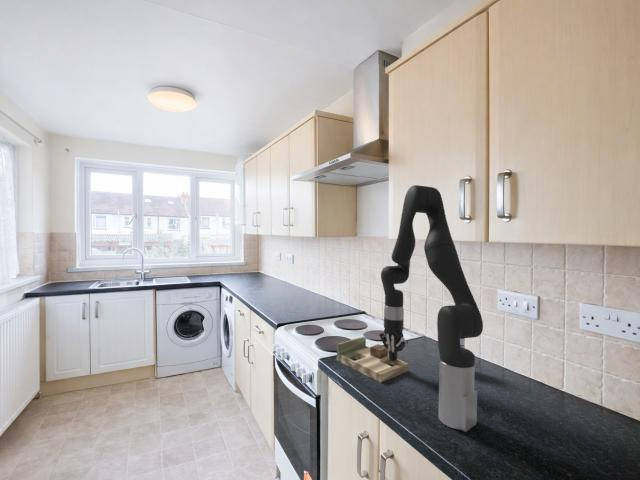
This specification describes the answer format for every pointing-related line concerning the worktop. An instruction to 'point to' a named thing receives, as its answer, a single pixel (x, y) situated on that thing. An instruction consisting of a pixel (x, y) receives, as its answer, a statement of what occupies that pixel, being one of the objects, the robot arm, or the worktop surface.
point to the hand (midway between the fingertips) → (392, 360)
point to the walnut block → (378, 351)
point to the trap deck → (368, 360)
